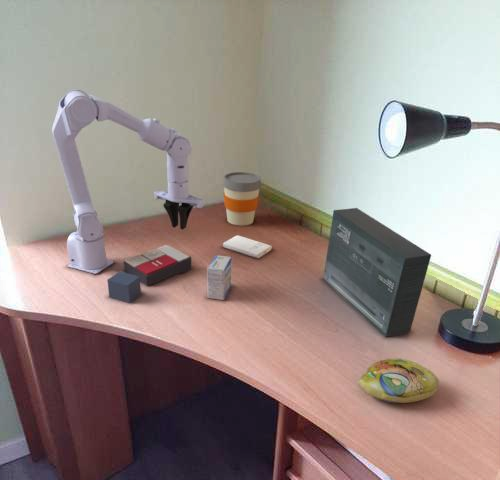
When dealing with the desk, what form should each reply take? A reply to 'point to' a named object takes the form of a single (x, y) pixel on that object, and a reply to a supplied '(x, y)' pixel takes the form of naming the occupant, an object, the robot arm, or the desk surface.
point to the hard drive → (247, 246)
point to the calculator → (157, 264)
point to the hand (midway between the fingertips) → (179, 227)
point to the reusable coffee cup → (241, 197)
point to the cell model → (399, 381)
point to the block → (124, 287)
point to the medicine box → (219, 277)
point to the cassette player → (375, 270)
